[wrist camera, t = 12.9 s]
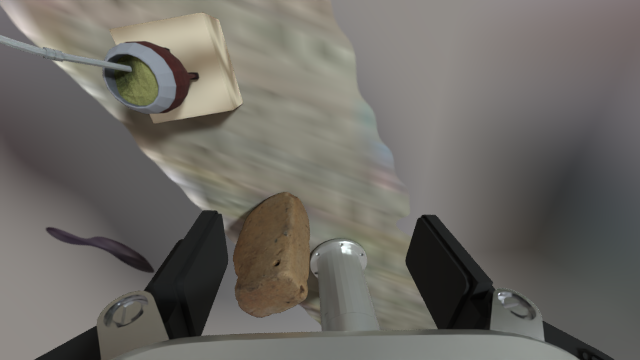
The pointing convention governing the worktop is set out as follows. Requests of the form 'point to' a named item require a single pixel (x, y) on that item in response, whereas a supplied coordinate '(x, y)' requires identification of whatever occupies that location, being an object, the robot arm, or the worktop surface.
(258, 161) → the worktop surface
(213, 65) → the maple block
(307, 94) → the worktop surface
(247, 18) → the worktop surface
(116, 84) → the mate gourd
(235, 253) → the block
